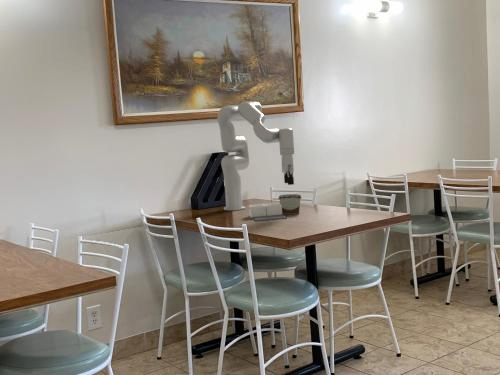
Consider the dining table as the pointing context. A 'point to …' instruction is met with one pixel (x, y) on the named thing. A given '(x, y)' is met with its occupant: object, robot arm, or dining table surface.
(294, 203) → the food container
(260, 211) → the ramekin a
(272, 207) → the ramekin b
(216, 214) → the dining table surface
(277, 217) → the mat
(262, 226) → the dining table surface
